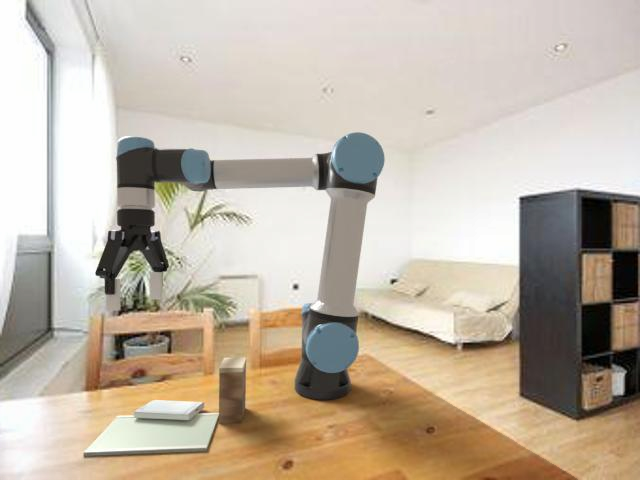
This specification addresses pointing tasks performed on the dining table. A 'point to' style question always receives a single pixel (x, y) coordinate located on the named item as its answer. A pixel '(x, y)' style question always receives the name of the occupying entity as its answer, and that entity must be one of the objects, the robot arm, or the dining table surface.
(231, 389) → the walnut block
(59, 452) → the dining table surface
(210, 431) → the board
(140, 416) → the hard drive
